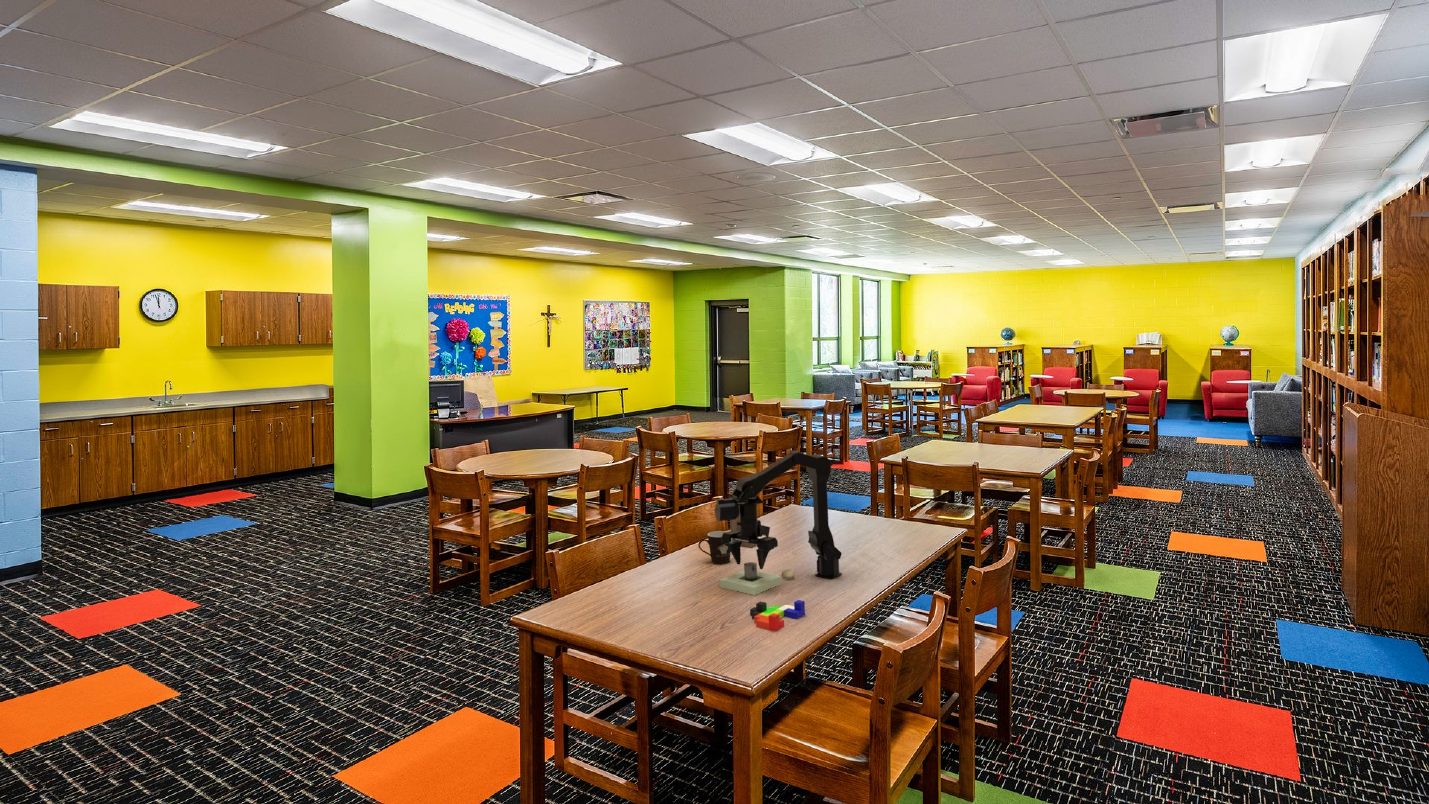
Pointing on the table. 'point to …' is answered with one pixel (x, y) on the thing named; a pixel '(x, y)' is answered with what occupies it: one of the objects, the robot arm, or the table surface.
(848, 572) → the table surface
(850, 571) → the table surface
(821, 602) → the table surface
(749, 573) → the long steel pin
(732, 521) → the wooden block
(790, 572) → the short birch pin
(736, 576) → the hole board
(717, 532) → the coffee mug
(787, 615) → the building blocks
